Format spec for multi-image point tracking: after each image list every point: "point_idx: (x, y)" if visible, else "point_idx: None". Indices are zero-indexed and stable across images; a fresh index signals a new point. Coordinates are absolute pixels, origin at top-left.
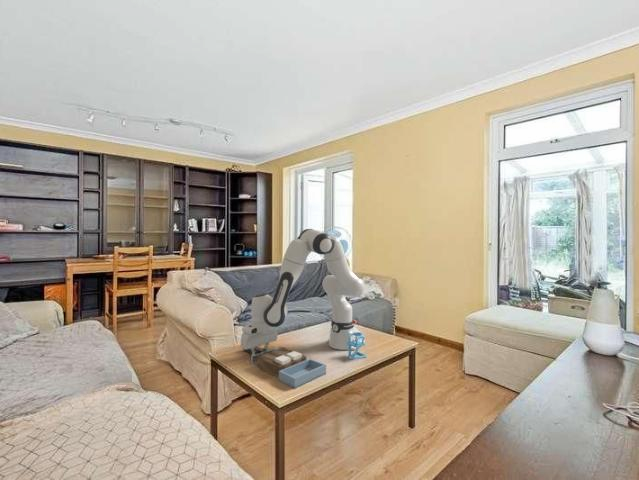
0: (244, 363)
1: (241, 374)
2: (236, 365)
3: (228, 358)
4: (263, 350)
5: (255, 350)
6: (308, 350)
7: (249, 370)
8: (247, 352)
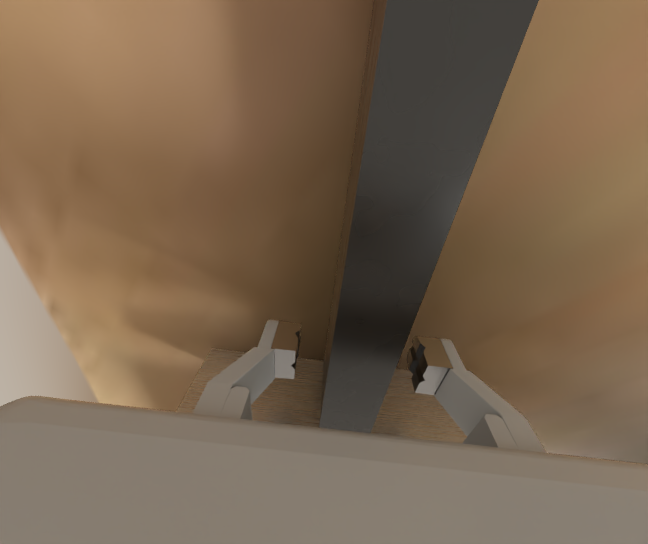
0: (170, 313)
1: (97, 391)
2: (94, 295)
3: (26, 64)
4: (353, 420)
5: (332, 329)
6: (642, 458)
7: (159, 391)
8: (358, 114)
